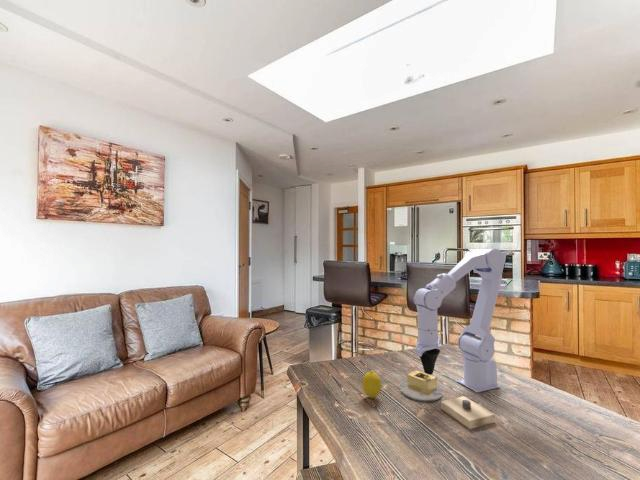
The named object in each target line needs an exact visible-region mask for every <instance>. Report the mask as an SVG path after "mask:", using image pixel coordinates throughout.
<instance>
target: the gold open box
mask: <svg viewBox="0 0 640 480" xmlns="http://www.w3.org/2000/svg"><path fill="white" fill-rule="evenodd" d="M419 377H422V378H424V379H422V378H419ZM406 378H407V380H406V381H407V382H408V388H410V389H413V390H415V391H418V392H420V393H423V394H425V395H428V396H429V395H430V394H432V393H433V392H435V391H437V386H438V382H437V381H438V380H437V376H434V375H433V374H432V375H429V374H426V373H425V372H424V371H420V370H417V369H415V370H413V371H411V372H410V373H408V374H407V377H406Z"/></svg>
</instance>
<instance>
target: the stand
mask: <svg viewBox="0 0 640 480" xmlns="http://www.w3.org/2000/svg"><path fill="white" fill-rule="evenodd" d="M440 407H441V410H443V412H446V413H447V414H448V415H449V416H451V417H452V418H454V419H455V420H457V422H459V423H461V424H462V425H464V426H465V427H466V428H468V429H469V430H473V429H475V428H479V427H482V426H483V427H484V426H485V425H489V424H493V423H495V413H493V412H491V411H490V410H488V409H486V408H484V407H483V406H481V405H479V404H478V403H476V402H474V401H473V400H472V399H470V398H468V397H467V396H465V395H464V396H463V395H462V396H459V397H454V398H449V399H446V400H441V401H440Z"/></svg>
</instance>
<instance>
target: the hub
mask: <svg viewBox="0 0 640 480" xmlns="http://www.w3.org/2000/svg"><path fill="white" fill-rule="evenodd" d="M419 378H422V377H419ZM422 379H424V378H422ZM400 391H401V393H402V394H403V396H405V397H407V398H409V399H411V400H414V401H418V402H426V403H429V402H436V401H438V400H440V399H441V398H442V396H443V391H442V388H441V387H440V386H439V385H437V391H435V392H433V393H432V394H430V395H429V396H428V395H425V394H423V393H420V392H418V391H415V390H413V389H410V388H408V382H407V380H405V381H404V382H402V383H401V384H400Z"/></svg>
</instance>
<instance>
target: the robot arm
mask: <svg viewBox="0 0 640 480" xmlns="http://www.w3.org/2000/svg"><path fill="white" fill-rule="evenodd" d="M506 260H507V259H506V258H505V256H504V254H503V252H502V250H500V249H498V248H471V249H469V250H468V251H467V252H466V253H464V257H463V258H462V259H461V260H460V261H459V262H457V264H456V265H455V266H454V267H453V268H452V269H450V270H449V272H447V273H439V274H436V278H434V279H433V280H432V281H431V282H429V283H427V284H426V285H425V287H424V288H418V289H417V290H416V292H415V293H414V296H413V297H412V301H413V303H414V304H415V306H416V310H417V343H416V346H415V347H414V349H413V350H414V351H413V353H414V356H416V357H417V356H418V357H419V359H420V361H421V363H422V368H423V373H426V374H429V375H432V376H433V374H434V370H435V366H436V362H437V360H438V356H439V354H440V353H441V350H440V349H442V348H443V345H442V342H441V341H442V338H441V337H439V331H438V330H439V326H438V323H439V322H438V320H439V319H438V308H440V307H441V305H442V303H443V299H444V298H445V297H446V296H447V295H448V294H450V293H451V292H452V291H453V290H454V289H456V287H457V282H458V281H459V280H460V279H462V278H463V277H465V276H466V275H468V273H470V272H472V270H474V271H475V272H476V273H477V274H478V275H479V276H480V278H481V282H480V286H479V289H478V293H477V298H476V302H475V305H474V308H473V309H474V310H473V312H472V313H473V314H472V315H471V316H472V317H471V319H470V324H468V325H466V326H465V327H463V328H462V331H461V334H460V335H459V337H458V338H457V346H458V349H459V350H460V351H461V355H462V356H463V357H462V358H463V378H462V379H458V380H457V382H458V383H459V384H461V385H463V386H465V387H467V388H468V389H470V390H472V391H474V392H475V393H482V392H485V391H490V390H493V389H498V388H500V385H499V384H498V368H497V363H496V361H495V360H494V358H493V356H494V355H495V340H496V339H495V336H494V335H493V334H492V333H491V332H490V327H491V323H492V321H493V315H494V312H495V307H496V304H497V299H498V296H499V292H500V288H501V284H502V280H503V272H504V271H503V270H504V267H505V263H506Z"/></svg>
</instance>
